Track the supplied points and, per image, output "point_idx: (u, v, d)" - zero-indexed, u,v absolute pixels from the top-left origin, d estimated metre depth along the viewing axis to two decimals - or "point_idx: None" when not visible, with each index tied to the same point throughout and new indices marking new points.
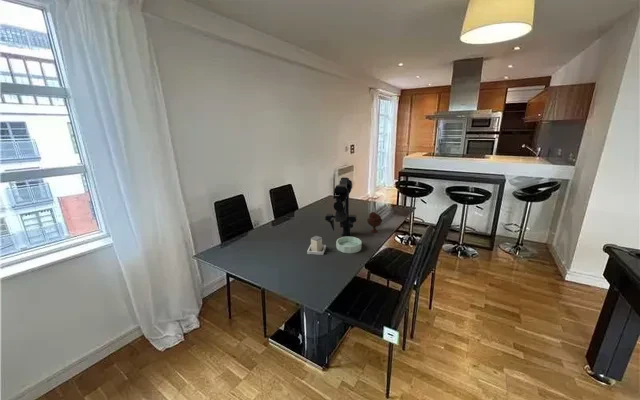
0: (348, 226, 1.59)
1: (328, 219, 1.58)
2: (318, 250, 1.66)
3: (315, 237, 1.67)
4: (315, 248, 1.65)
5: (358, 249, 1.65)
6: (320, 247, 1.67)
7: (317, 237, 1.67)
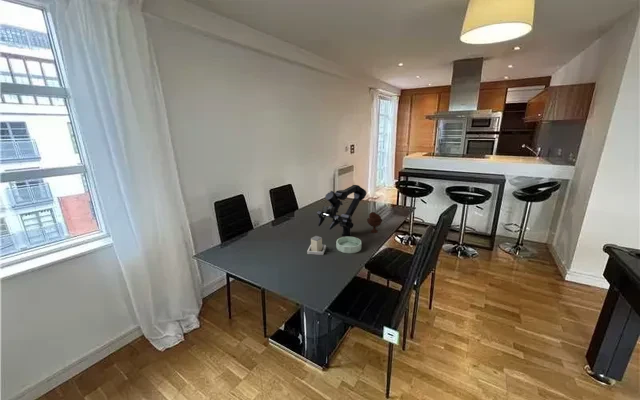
0: (331, 223, 1.68)
1: (319, 212, 1.75)
2: (318, 250, 1.66)
3: (315, 237, 1.67)
4: (315, 248, 1.65)
5: (358, 249, 1.65)
6: (320, 247, 1.67)
7: (317, 237, 1.67)
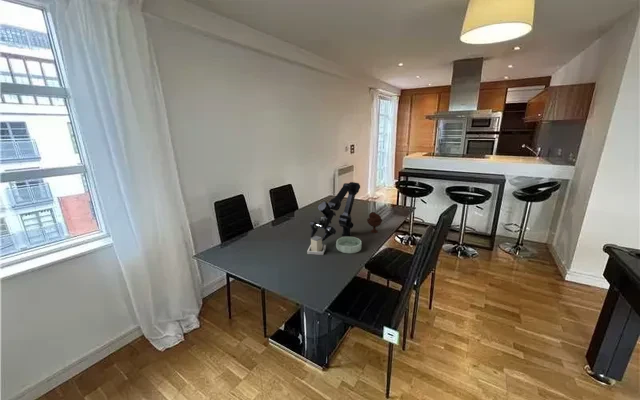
0: None
1: (311, 223, 1.72)
2: (318, 250, 1.66)
3: (315, 237, 1.67)
4: (315, 248, 1.65)
5: (358, 249, 1.65)
6: (320, 247, 1.67)
7: (317, 237, 1.67)
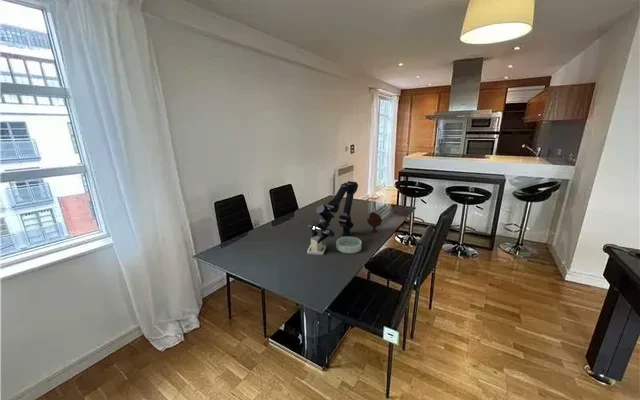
0: None
1: (310, 226, 1.71)
2: (318, 250, 1.66)
3: (315, 237, 1.67)
4: (315, 248, 1.65)
5: (358, 249, 1.65)
6: (320, 247, 1.67)
7: (317, 237, 1.67)
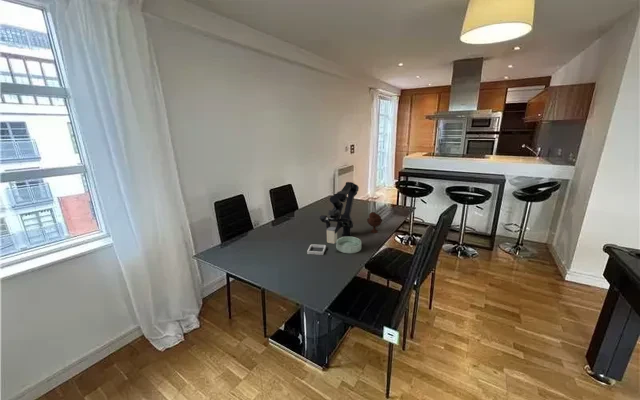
0: (336, 227, 1.63)
1: (322, 217, 1.67)
2: (335, 240, 1.64)
3: (330, 228, 1.64)
4: (332, 239, 1.63)
5: (358, 249, 1.65)
6: (336, 237, 1.65)
7: (332, 227, 1.64)
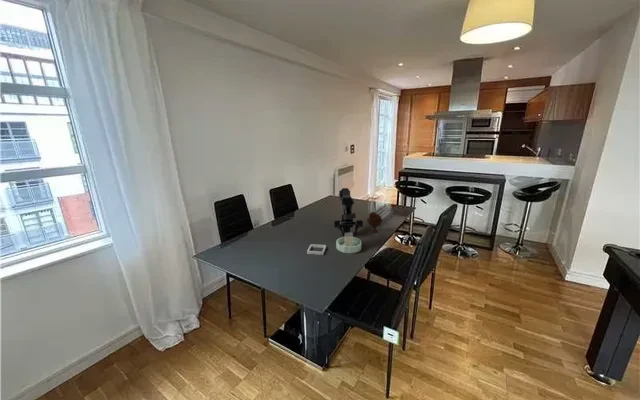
0: (355, 229, 1.68)
1: (337, 222, 1.69)
2: (352, 245, 1.70)
3: (347, 233, 1.69)
4: (351, 244, 1.68)
5: (358, 249, 1.65)
6: None
7: (348, 233, 1.70)
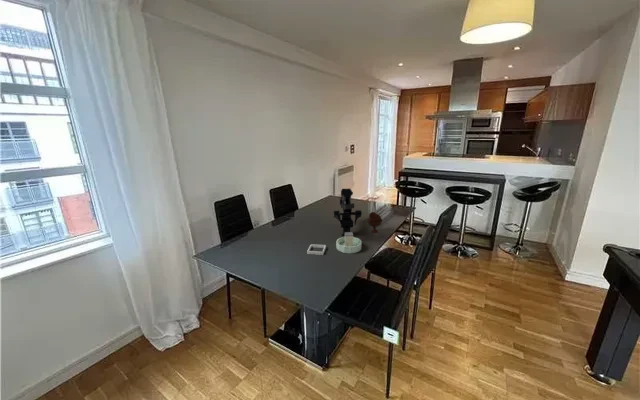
0: (355, 219, 1.74)
1: (336, 212, 1.75)
2: (352, 245, 1.70)
3: (347, 233, 1.69)
4: (351, 244, 1.68)
5: (358, 249, 1.65)
6: None
7: (349, 233, 1.70)
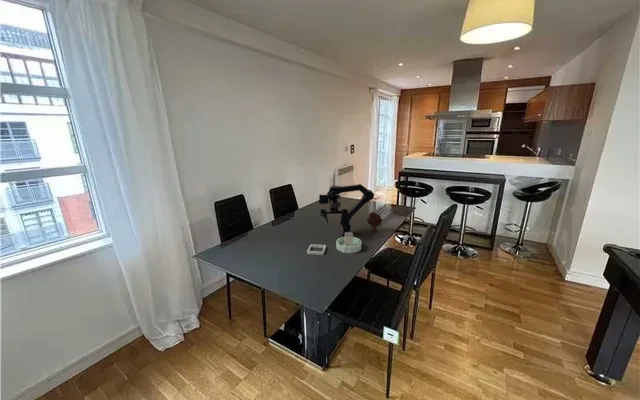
0: (341, 218, 1.76)
1: (323, 211, 1.77)
2: (352, 245, 1.70)
3: (347, 233, 1.69)
4: (351, 244, 1.68)
5: (358, 249, 1.65)
6: None
7: (349, 233, 1.70)
